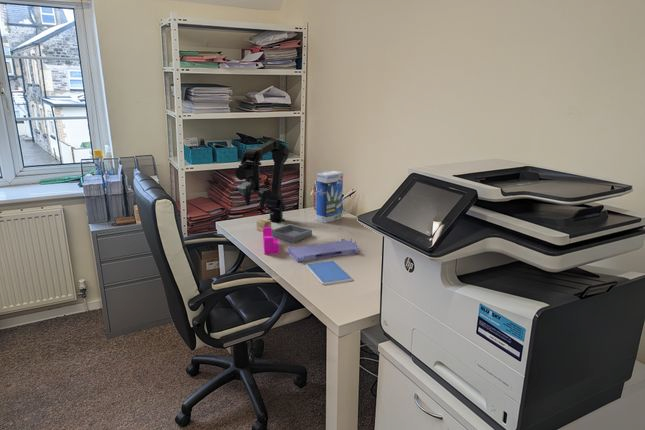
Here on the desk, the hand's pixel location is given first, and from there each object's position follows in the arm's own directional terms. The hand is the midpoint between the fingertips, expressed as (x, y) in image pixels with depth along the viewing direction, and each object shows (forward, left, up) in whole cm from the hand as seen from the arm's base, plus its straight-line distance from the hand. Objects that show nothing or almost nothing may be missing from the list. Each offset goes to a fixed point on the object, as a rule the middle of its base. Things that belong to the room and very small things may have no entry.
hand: (254, 207), depth 209 cm
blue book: (+17, +56, -13) cm, 60 cm away
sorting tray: (-6, +18, -12) cm, 23 cm away
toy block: (+12, +21, -13) cm, 27 cm away
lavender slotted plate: (+1, +43, -13) cm, 45 cm away
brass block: (-4, +2, -12) cm, 13 cm away
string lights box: (-40, +16, -13) cm, 45 cm away
